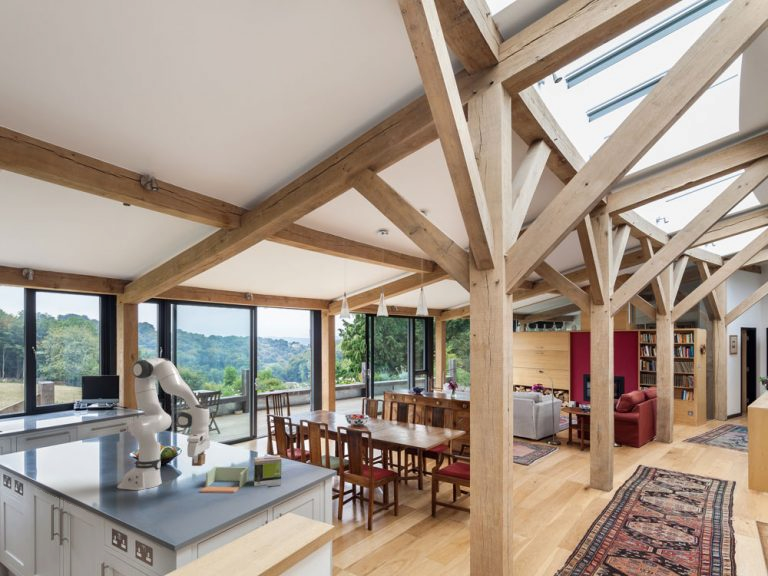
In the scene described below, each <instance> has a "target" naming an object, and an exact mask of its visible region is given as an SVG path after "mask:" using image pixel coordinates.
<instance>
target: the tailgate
mask: <svg viewBox="0 0 768 576" xmlns="http://www.w3.org/2000/svg"><path fill="white" fill-rule="evenodd" d="M239 489H240V487H239V486H208V487H206V486H205V487H203V488H201V489H200V490H199V493H212V494H213V493H215V494H217V493H219V494H221V493H224V494H230V493H231V494H232V493H236V492H237V491H238V490H239Z"/></svg>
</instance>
